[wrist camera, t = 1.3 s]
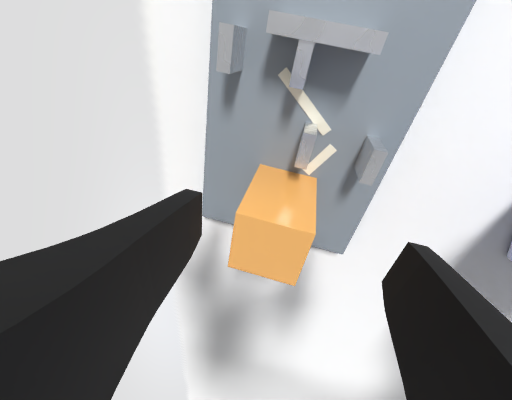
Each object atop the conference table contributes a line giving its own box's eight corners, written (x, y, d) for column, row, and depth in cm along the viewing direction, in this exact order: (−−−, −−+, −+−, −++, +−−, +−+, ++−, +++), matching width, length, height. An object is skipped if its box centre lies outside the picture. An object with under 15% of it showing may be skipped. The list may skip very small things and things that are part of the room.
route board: (341, 246, 20) (342, 255, 19) (206, 209, 21) (201, 216, 21) (554, -173, 9) (581, -198, 8) (231, -207, 10) (222, -233, 9)
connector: (301, 222, 19) (294, 286, 14) (251, 209, 19) (227, 266, 14) (316, 178, 17) (315, 234, 12) (260, 163, 17) (235, 212, 12)
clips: (365, 167, 15) (371, 185, 13) (224, 134, 16) (211, 146, 14) (414, 61, 12) (433, 64, 10) (234, 25, 13) (219, 21, 11)
